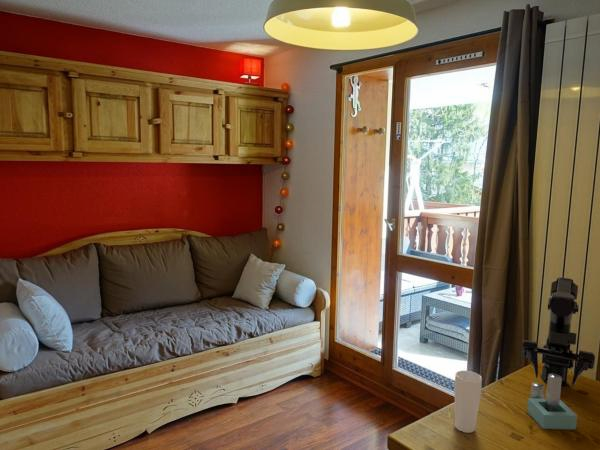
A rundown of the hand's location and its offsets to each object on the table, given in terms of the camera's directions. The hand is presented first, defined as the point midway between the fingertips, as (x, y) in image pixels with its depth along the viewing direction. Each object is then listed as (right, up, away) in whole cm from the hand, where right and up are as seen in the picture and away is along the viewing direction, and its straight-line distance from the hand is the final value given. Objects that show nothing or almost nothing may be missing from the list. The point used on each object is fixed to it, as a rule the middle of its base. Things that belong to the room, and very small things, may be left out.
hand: (554, 381), depth 135 cm
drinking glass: (-29, -10, -8) cm, 31 cm away
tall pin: (-3, -10, -3) cm, 11 cm away
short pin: (-1, -8, +9) cm, 12 cm away
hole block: (-3, -10, -3) cm, 11 cm away
